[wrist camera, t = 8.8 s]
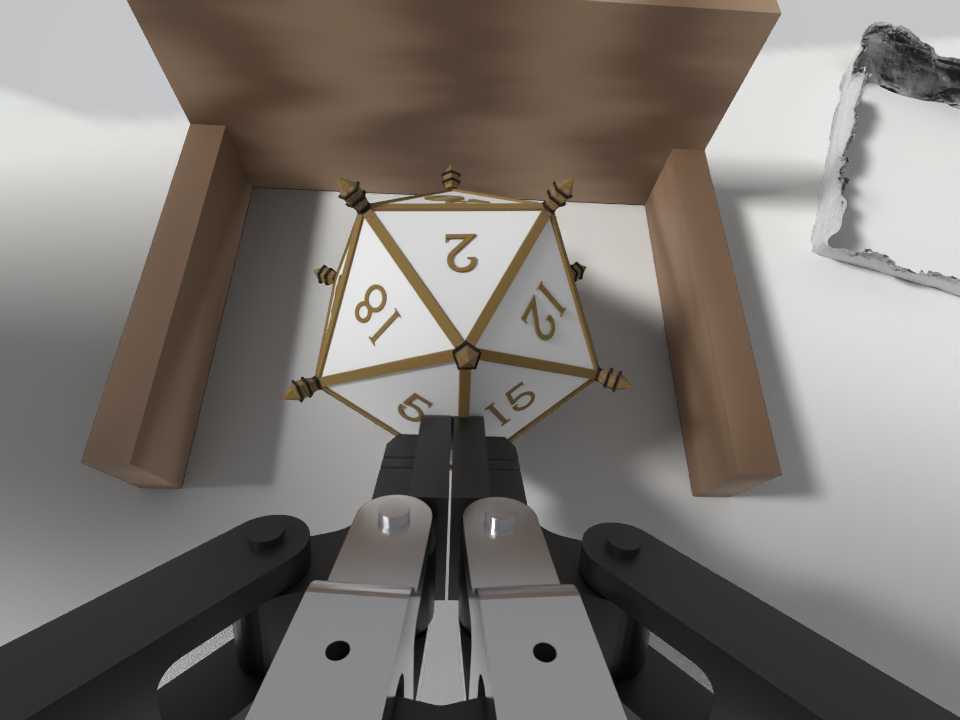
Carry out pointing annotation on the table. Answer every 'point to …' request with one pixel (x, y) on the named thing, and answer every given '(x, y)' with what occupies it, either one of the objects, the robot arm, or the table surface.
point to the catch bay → (426, 155)
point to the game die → (455, 312)
